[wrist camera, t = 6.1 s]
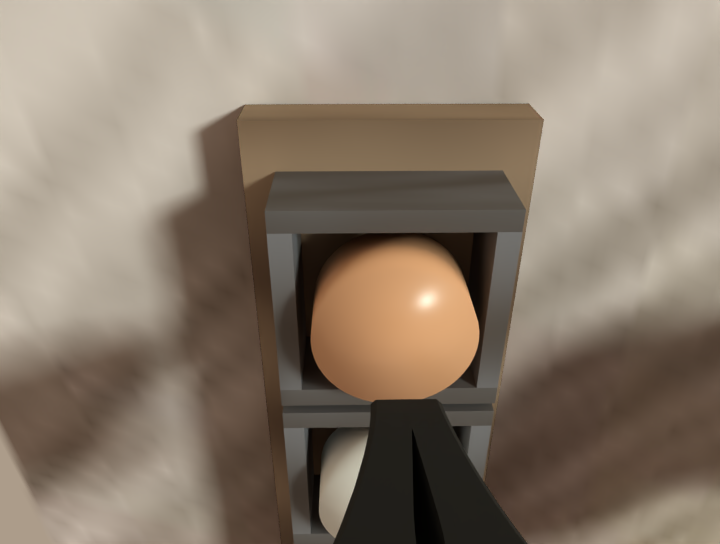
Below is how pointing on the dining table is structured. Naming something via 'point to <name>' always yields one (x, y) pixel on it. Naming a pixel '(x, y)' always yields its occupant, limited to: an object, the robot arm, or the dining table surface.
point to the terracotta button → (392, 318)
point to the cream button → (340, 473)
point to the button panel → (377, 215)
